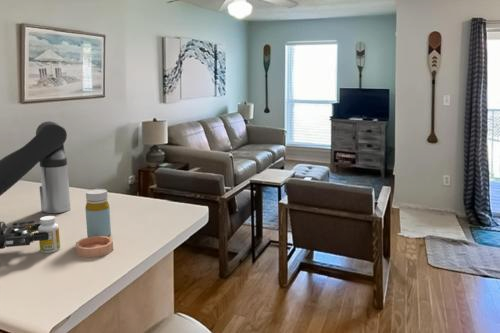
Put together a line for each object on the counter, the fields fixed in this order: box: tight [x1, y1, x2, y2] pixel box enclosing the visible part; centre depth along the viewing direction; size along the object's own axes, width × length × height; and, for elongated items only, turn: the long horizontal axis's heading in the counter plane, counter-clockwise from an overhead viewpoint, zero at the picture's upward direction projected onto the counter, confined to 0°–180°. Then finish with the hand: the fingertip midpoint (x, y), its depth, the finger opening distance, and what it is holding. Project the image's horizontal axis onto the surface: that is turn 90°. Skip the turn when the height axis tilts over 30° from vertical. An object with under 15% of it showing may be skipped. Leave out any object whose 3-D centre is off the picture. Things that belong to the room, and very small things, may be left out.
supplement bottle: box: [37, 215, 61, 254], centre depth 126 cm, size 5×5×10 cm
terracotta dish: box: [75, 236, 114, 258], centre depth 127 cm, size 10×10×2 cm
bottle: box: [85, 188, 112, 238], centre depth 135 cm, size 7×7×15 cm
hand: (49, 230), depth 126 cm, fingers open, 8 cm apart
